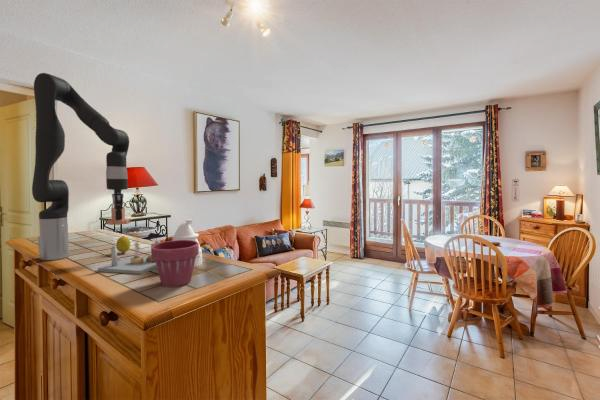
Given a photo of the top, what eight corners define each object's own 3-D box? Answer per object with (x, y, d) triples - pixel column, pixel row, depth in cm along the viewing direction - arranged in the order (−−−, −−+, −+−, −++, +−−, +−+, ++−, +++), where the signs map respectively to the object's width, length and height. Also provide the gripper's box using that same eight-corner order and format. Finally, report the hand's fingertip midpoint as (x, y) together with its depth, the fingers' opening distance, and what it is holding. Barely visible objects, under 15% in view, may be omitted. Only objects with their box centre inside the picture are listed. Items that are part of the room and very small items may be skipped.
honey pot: (207, 260, 125) (206, 217, 124) (193, 269, 113) (192, 222, 111) (178, 259, 127) (177, 217, 125) (161, 268, 114) (160, 221, 113)
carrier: (98, 271, 110) (97, 247, 109) (134, 258, 128) (133, 237, 127) (142, 274, 106) (141, 249, 106) (173, 260, 124) (173, 239, 124)
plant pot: (148, 292, 90) (146, 250, 89) (156, 277, 103) (155, 240, 102) (198, 287, 94) (197, 247, 93) (200, 274, 107) (199, 238, 106)
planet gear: (101, 224, 121) (100, 208, 121) (117, 221, 129) (117, 206, 129) (119, 225, 120) (119, 209, 119) (134, 222, 128) (134, 207, 127)
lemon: (126, 254, 133) (125, 237, 133) (113, 254, 133) (113, 237, 133) (133, 251, 139) (132, 234, 138) (121, 251, 139) (120, 234, 138)
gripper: (129, 178, 119) (130, 220, 121) (125, 178, 131) (127, 216, 132) (106, 177, 115) (108, 221, 116) (105, 177, 127) (107, 217, 128)
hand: (118, 218), depth 124 cm, fingers closed on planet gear, 4 cm apart
